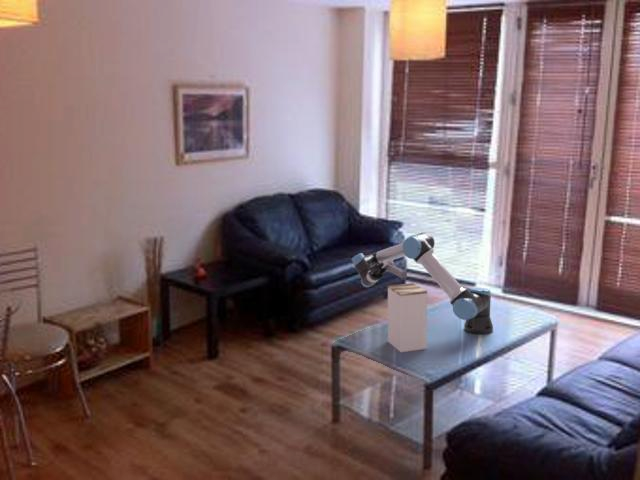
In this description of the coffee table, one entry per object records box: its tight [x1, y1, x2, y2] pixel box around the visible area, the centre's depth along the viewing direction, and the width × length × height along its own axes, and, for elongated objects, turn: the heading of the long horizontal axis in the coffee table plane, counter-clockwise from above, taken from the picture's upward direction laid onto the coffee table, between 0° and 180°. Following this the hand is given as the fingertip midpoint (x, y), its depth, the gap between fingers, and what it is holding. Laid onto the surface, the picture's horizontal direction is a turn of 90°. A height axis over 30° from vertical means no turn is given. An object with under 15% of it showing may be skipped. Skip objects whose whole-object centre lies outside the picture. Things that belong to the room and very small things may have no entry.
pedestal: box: [387, 282, 428, 353], centre depth 323 cm, size 16×14×30 cm
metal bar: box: [381, 261, 408, 279], centre depth 334 cm, size 26×3×3 cm, turn 17°
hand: (389, 261), depth 338 cm, fingers closed on metal bar, 3 cm apart
